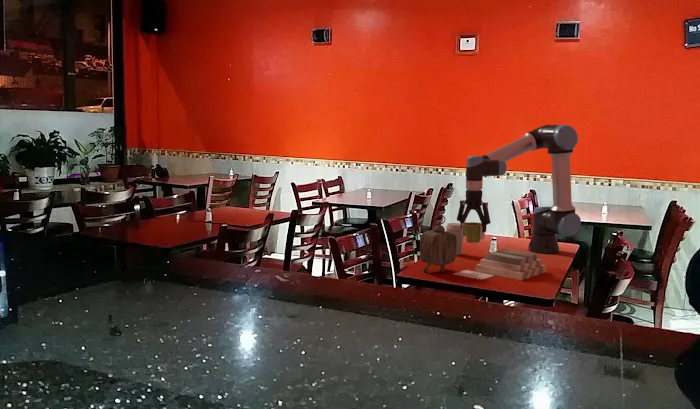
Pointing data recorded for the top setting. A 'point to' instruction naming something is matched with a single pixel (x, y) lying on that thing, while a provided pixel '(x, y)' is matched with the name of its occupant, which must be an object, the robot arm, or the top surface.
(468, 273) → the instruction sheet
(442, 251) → the tabletop clock
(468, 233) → the plant pot
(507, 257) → the stepped tower
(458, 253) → the coffee cup
